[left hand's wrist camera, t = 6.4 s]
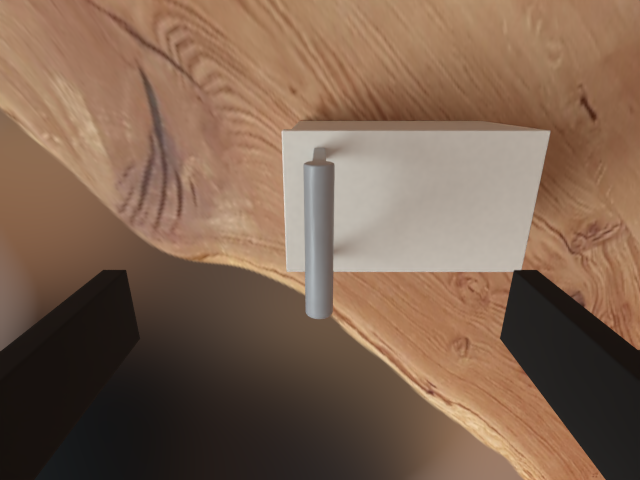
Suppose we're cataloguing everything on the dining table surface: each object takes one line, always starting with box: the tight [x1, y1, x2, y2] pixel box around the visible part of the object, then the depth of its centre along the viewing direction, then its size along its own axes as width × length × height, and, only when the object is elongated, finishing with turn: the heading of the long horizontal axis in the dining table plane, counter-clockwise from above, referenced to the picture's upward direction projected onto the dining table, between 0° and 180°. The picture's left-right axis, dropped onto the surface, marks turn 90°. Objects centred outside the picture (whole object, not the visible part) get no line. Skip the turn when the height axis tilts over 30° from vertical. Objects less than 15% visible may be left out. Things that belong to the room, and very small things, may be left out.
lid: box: [282, 129, 551, 319], centre depth 21 cm, size 16×10×8 cm, turn 90°
